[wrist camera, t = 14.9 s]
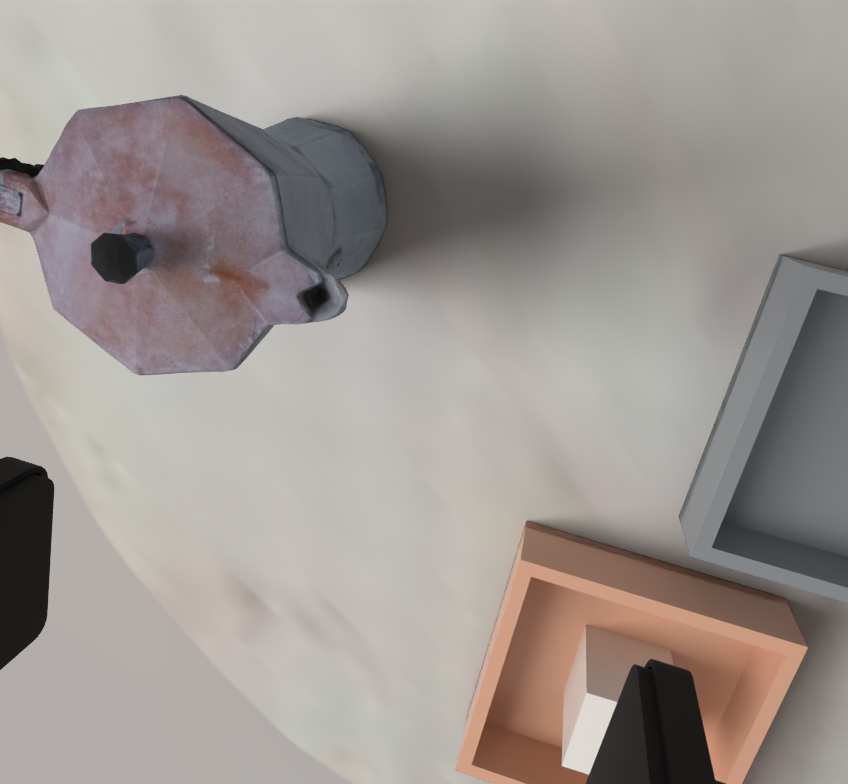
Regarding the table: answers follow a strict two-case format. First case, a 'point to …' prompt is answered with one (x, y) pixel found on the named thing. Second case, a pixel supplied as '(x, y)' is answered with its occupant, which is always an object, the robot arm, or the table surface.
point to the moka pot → (195, 228)
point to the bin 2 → (782, 442)
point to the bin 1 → (633, 617)
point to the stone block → (598, 690)
